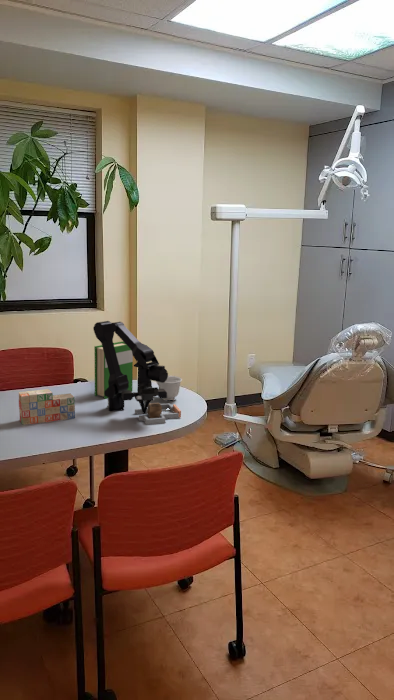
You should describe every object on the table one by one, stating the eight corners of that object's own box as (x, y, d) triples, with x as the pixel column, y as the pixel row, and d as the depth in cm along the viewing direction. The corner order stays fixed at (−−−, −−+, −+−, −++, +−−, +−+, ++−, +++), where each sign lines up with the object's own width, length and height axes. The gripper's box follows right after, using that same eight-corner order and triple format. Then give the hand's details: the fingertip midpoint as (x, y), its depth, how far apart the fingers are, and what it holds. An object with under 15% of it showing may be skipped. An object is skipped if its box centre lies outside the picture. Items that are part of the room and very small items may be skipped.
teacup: (165, 392, 267) (166, 373, 265) (186, 399, 257) (187, 379, 255) (146, 397, 259) (147, 376, 257) (167, 404, 249) (168, 383, 247)
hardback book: (105, 399, 254) (105, 348, 249) (94, 395, 259) (94, 346, 254) (132, 391, 268) (132, 343, 263) (121, 388, 272) (122, 341, 267)
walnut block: (149, 418, 230) (150, 406, 229) (147, 414, 235) (147, 403, 234) (161, 417, 232) (161, 406, 230) (158, 413, 236) (159, 402, 235)
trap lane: (141, 424, 222) (141, 417, 221) (132, 410, 240) (132, 403, 239) (183, 421, 228) (184, 414, 227) (172, 407, 245) (172, 401, 245)
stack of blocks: (71, 414, 232) (70, 386, 230) (75, 418, 227) (74, 390, 224) (19, 420, 223) (18, 391, 220) (22, 425, 217) (21, 395, 215)
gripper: (125, 384, 218) (125, 421, 221) (170, 382, 223) (169, 418, 227) (121, 377, 228) (120, 412, 232) (164, 375, 234) (163, 410, 237)
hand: (143, 413), depth 231 cm, fingers closed
